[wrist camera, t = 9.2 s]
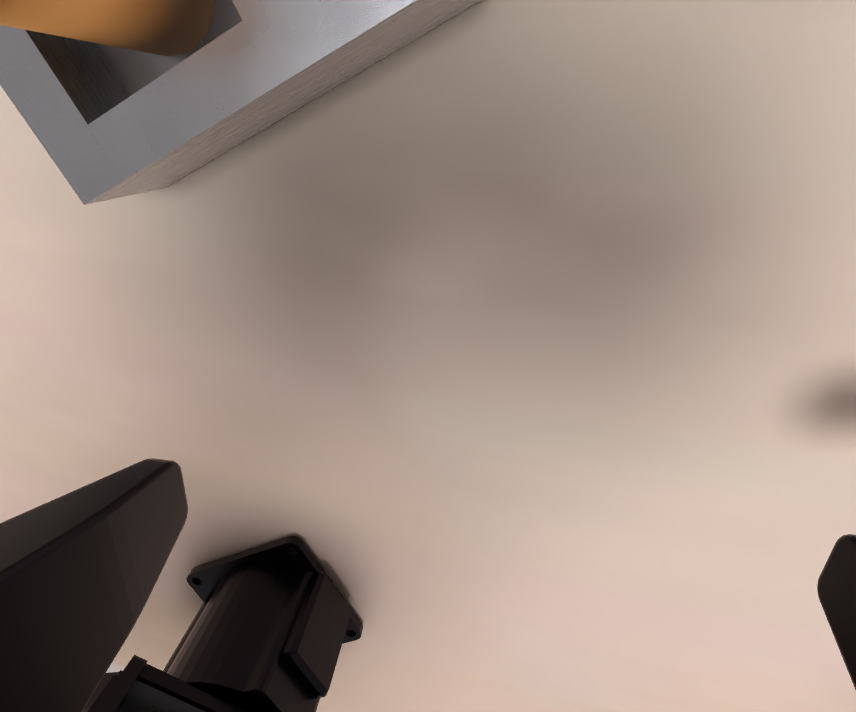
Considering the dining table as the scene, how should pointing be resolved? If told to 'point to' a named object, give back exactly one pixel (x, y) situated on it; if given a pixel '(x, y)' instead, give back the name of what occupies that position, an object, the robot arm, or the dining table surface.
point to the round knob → (116, 22)
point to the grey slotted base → (195, 85)
